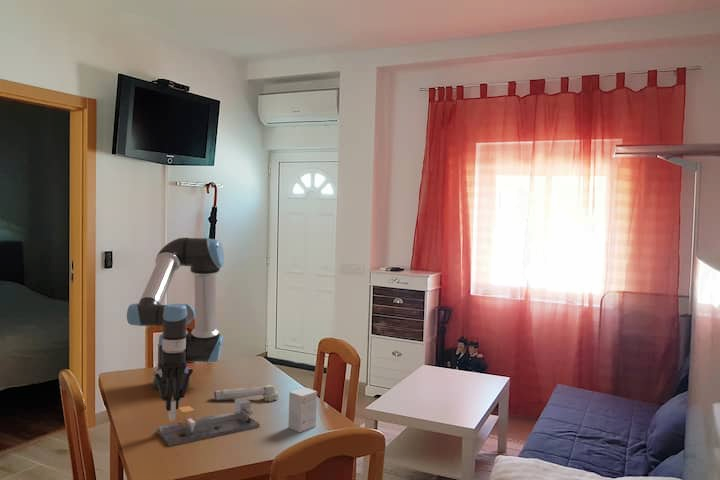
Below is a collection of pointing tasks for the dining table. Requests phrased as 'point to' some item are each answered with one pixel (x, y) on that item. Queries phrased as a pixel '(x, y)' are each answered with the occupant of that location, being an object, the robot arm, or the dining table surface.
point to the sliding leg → (186, 416)
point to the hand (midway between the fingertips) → (171, 419)
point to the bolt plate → (210, 425)
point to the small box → (302, 409)
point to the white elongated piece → (247, 393)
